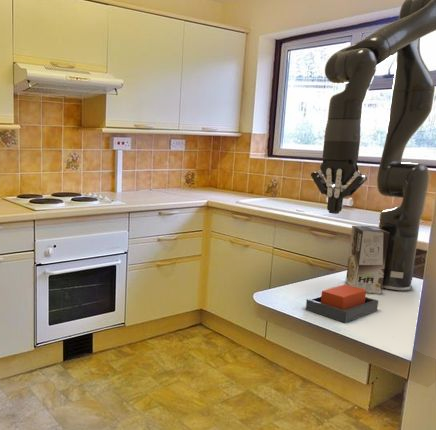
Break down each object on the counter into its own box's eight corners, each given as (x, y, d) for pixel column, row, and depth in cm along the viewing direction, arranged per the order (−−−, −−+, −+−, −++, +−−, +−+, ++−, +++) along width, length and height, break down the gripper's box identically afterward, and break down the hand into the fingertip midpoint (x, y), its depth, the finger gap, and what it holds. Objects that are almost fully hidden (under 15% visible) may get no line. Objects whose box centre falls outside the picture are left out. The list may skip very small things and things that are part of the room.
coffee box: (382, 294, 116) (390, 232, 114) (355, 291, 117) (362, 230, 115) (370, 283, 125) (377, 226, 123) (344, 281, 126) (351, 224, 124)
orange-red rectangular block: (343, 300, 109) (345, 284, 108) (364, 306, 105) (366, 289, 104) (319, 307, 103) (321, 290, 102) (341, 314, 99) (343, 297, 98)
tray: (338, 298, 111) (339, 289, 111) (377, 310, 104) (378, 300, 104) (305, 309, 103) (306, 299, 103) (345, 322, 96) (346, 312, 96)
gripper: (379, 140, 103) (369, 216, 106) (323, 139, 114) (316, 208, 116) (362, 139, 99) (353, 218, 101) (306, 138, 109) (299, 210, 112)
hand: (333, 213), depth 109 cm, fingers closed
